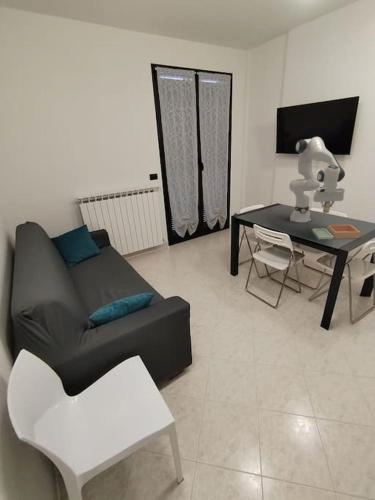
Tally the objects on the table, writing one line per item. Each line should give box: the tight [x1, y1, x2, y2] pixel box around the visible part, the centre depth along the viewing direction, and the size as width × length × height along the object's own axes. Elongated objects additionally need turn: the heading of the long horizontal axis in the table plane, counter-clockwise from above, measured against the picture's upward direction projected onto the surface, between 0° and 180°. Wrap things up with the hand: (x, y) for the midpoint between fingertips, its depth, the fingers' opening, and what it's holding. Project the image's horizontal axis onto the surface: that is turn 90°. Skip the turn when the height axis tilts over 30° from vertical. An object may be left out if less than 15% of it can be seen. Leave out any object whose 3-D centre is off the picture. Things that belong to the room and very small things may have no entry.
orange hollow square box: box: [326, 224, 361, 240], centre depth 191 cm, size 17×17×6 cm
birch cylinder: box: [322, 201, 332, 214], centre depth 185 cm, size 4×4×8 cm
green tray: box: [312, 228, 334, 241], centre depth 195 cm, size 18×10×3 cm, turn 170°
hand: (326, 206), depth 185 cm, fingers closed on birch cylinder, 4 cm apart
